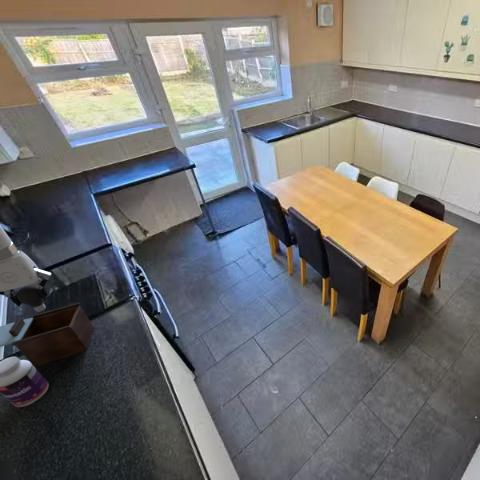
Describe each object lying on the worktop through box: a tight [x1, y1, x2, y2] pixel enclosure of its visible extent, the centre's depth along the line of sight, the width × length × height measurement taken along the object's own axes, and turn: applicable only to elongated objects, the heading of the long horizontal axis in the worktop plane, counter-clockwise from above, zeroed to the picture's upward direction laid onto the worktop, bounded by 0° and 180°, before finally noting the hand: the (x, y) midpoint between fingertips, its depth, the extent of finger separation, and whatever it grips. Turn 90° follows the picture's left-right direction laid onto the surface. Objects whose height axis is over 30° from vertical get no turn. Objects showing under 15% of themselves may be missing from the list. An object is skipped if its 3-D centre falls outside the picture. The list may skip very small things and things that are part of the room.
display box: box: [11, 302, 95, 368], centre depth 95 cm, size 15×13×13 cm
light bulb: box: [17, 285, 46, 313], centre depth 87 cm, size 6×6×10 cm
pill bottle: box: [0, 356, 50, 408], centre depth 79 cm, size 8×8×14 cm
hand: (33, 299), depth 87 cm, fingers closed on light bulb, 5 cm apart
